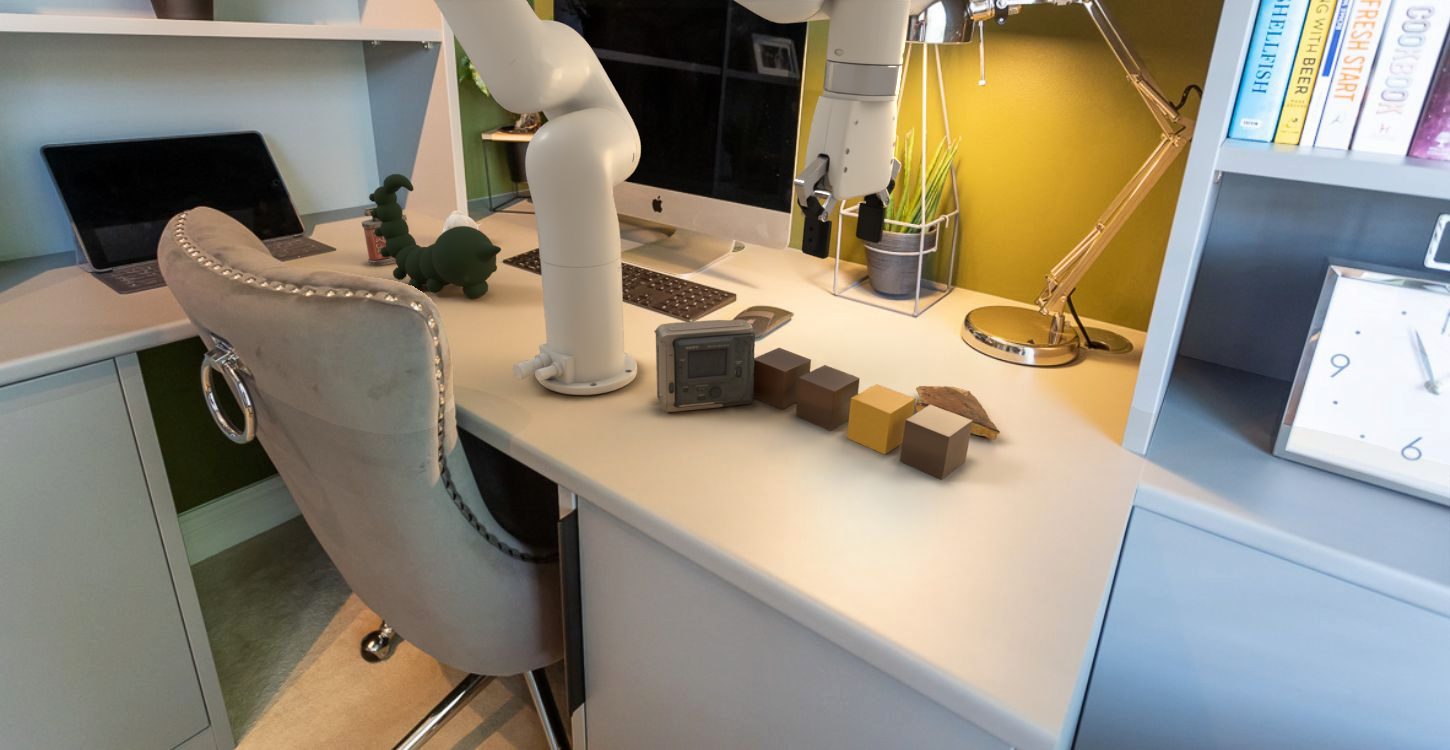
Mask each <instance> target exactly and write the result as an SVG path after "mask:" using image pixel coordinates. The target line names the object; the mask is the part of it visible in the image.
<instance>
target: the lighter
mask: <svg viewBox="0 0 1450 750" xmlns="http://www.w3.org/2000/svg"><path fill="white" fill-rule="evenodd" d="M377 206H378V205H374V206H369V207H365V208H364V209H363V214H364V216H365V217H371V218H370V219H367V220H363V221H361V227H362V228H363V233H364V238H365V242H366V249H367V255H368V259H367V261H368V265H369V266H371V267H381V266H385V265H389V264H390V265H391V264H395V263H396V259H395V258H393V257H392V256H390V257H383V256H382V255H381V254H380V251H381V249H382V248H383V247H386V239H385V238H384V237H383V236H382V237H378V236H376V235H375V234H374V231H375V229H376V228H380V227H381V223H382V222H381V221H380V220H379V218H377V219H376V218H374V217H372V216H371V211H372V210H373V209H376V208H377ZM402 219H404V220H405V222H406V223H407V221H408V219H407V215H406V214H403V216H402Z"/></svg>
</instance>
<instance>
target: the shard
mask: <svg viewBox="0 0 1450 750" xmlns="http://www.w3.org/2000/svg"><path fill="white" fill-rule="evenodd" d="M915 391H916V392H917V394H918V402H917V404H916V403H915V404H916V405H915V410H916V413H917V412H919V411H921V410H922V409H924V408H925V407H927V406H929V405H933V406H936V407H938V408H941V409H944V410H946V411H949V412H952V413H954V414H957V415H960V416H962V417H965V418H967V419H970V420H973V423H972V428H971V434H972V435H977V436H979V437H980V436H981V437H985V438H989V439H990V440H996V439H997V435H998V434H1000V433H1001V431H1000V430H999V429H998V428H997V426H996V424H995V423H993V421H992V420H991V418H990V417H989V415H988V413H987V411H986V409H984V407H983V405H982V404H981V403H980V401H979V400H978V399H977V398H976V397H975V396H974V395H973V394H972V392H971V391H970V390H966V389H963V388H959V387H955V386H945V385H944V386H940V385H937V386H936V385H935V386H933V385H930V386H929V385H928V386H926V385H919V386H916V387H915Z"/></svg>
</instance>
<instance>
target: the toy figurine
mask: <svg viewBox="0 0 1450 750" xmlns="http://www.w3.org/2000/svg"><path fill="white" fill-rule="evenodd" d="M401 188H405V189H406V190H408V191H409V192H413V191H414V185H413V184H412V182H411V181H410V179H409V178H408V177H406V176H405V175H403V174H400V173H392V174H390V175H387V176H386V177H385V178H384V180H383V184H382V186H379V187H377V188H376V189H375V190H374V192H373V193H370V194H369V196H368V200H370V201H371V202H374V203H375V204H376V206H377V208H376V209H373V210H372V211H371V216H370V217H371V218H372V217H374V218H376V219H377V218H379V220H380V221H381V222H382V223H381V227H380V228H376V229H375V231H374V234H375V235H376V236H378V237H382V236H383V237H384V238H385V239H386V247H383V248H382V249H381V251H380V254H381V255H382V256H383V257H390V256H392V257H393V258H395V259H396V262H395V263H396V266H397V267H395V268H394V269H393V271H392V276H393V278H395V279H396V280H398V281H402V280H404V279H405V278H406V277H407V276H408V277H409V278H410V280H409V281H408V285H409V284H410V285H412V286H414V287H415V288H417V289H419V290H418V291H420V290H421V289H423V287H424V286H426V289H427V290H428V291H429V292H431V293H434V294H438V293H440V292H441V291H443V289H444V288H445V287H446V286H451V285H452V286H455V287H457V288H458V287H459V288H462V293H463V295H464V296H465V297H466V298H467V299H470V300H475V299H478V298H481V297H483V296H485V295H486V294H487V292H488V291H489V284H488V282H487V280H488V279H489V278H491V276H492V274H493V273H495V272H496V271H497V270H498V265H497V255H499V253H500V252H501V251H502V248H501V246H498V245H495V244H493V242H492V240H491V239H490V238H489V237H488V236H487V235H486V234H485V233H483V231H481V230H480V229H479V230H477V229H475V228H472V227H468V226H458V227H453V228H451V229H449V230H447V231H445V232H444V233H442V232H441V234H440V235H439V236H438V237H437V239H436V240H435V242H434V243H432V244H429V245H428V246H421V245H419V244H417V242H416V239H415V238H414V236H413V234H411V233H410V229H409V225H408V222H407V221H406V222H405V220H404V219H402V216H403V215H404V214H403V208H402V206H401V205H400V204H399V203H398V202H397V201H398V195H397V192H398V191H399V190H400V189H401ZM410 285H409V286H410Z"/></svg>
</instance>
